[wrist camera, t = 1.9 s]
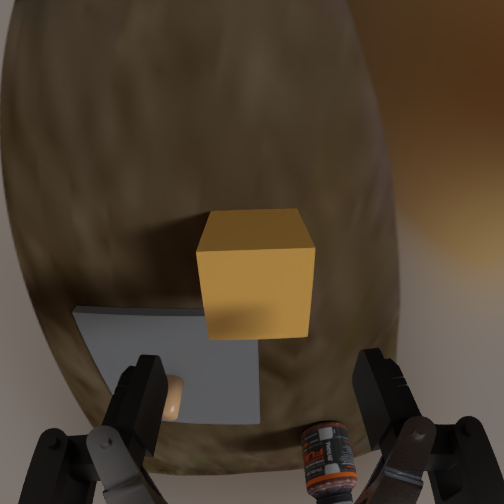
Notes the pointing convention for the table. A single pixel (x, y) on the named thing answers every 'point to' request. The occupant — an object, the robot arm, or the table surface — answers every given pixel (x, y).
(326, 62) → the table surface
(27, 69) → the table surface
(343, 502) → the supplement bottle
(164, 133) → the table surface
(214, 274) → the mustard foam cube
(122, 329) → the thin gray plate
